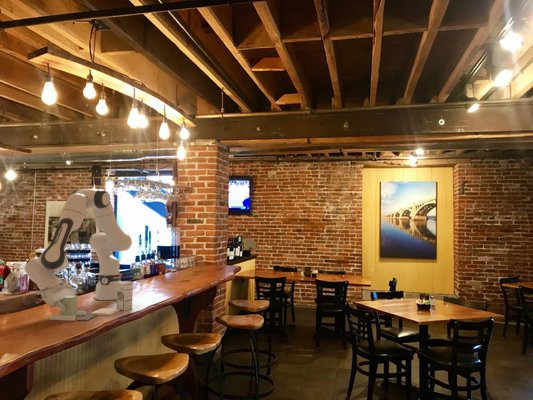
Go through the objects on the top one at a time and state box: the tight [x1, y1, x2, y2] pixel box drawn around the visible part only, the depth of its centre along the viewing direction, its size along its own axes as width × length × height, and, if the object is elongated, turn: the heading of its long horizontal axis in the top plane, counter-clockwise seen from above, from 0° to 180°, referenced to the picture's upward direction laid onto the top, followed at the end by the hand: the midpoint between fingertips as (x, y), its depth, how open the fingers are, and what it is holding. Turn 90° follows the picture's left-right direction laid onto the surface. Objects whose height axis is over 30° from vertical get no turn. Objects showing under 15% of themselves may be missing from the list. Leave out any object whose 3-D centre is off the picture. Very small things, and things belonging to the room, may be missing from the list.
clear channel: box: [49, 310, 99, 322], centre depth 190 cm, size 11×18×2 cm, turn 87°
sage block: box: [60, 295, 78, 317], centre depth 190 cm, size 5×5×10 cm
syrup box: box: [116, 280, 134, 312], centre depth 209 cm, size 6×6×14 cm
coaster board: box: [90, 307, 120, 317], centre depth 200 cm, size 10×10×1 cm
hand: (70, 307), depth 190 cm, fingers open, 8 cm apart
